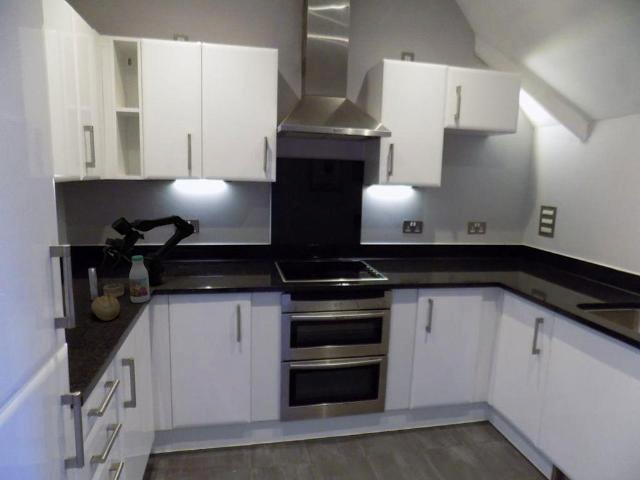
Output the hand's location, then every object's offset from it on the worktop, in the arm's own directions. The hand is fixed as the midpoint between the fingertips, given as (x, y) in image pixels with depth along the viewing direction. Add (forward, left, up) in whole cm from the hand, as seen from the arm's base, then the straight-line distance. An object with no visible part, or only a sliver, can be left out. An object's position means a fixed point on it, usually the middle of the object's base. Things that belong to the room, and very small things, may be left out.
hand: (107, 268), depth 182 cm
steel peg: (+6, -1, -12) cm, 14 cm away
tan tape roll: (-2, +1, -12) cm, 13 cm away
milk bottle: (-1, +18, -13) cm, 22 cm away
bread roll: (+18, +20, -13) cm, 30 cm away
